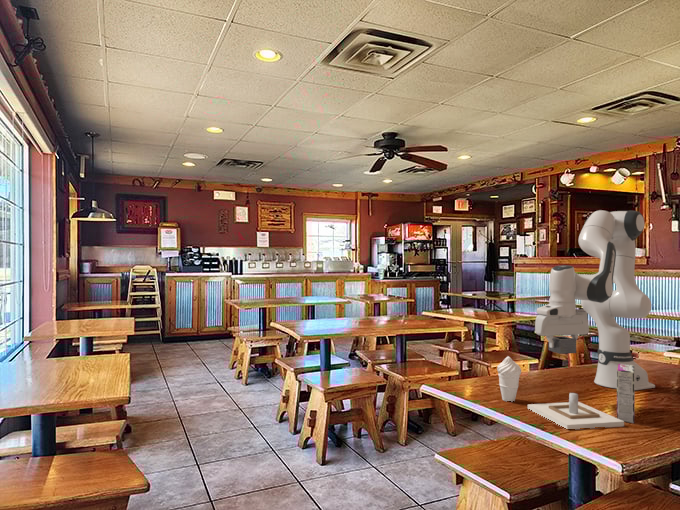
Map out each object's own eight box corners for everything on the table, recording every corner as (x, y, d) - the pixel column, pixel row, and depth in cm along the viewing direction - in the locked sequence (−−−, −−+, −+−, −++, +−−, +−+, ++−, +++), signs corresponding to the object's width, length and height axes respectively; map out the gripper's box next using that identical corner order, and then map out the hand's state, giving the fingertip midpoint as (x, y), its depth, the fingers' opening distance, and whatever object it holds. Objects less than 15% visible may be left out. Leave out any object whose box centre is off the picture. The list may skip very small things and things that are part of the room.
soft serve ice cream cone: (503, 395, 176) (503, 352, 176) (525, 400, 170) (525, 356, 170) (492, 399, 170) (493, 355, 170) (514, 405, 164) (515, 359, 164)
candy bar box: (617, 411, 159) (617, 363, 159) (634, 414, 157) (634, 365, 157) (615, 420, 150) (616, 369, 150) (634, 424, 147) (635, 371, 147)
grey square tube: (564, 349, 176) (564, 336, 176) (576, 353, 170) (576, 339, 170) (548, 350, 175) (548, 336, 175) (560, 353, 168) (560, 339, 168)
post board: (578, 406, 165) (579, 384, 165) (624, 426, 145) (624, 401, 145) (527, 408, 160) (527, 386, 161) (567, 430, 141) (567, 404, 141)
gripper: (580, 307, 178) (580, 344, 178) (532, 309, 173) (532, 346, 173) (593, 309, 171) (592, 347, 171) (543, 311, 167) (543, 349, 167)
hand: (562, 347), depth 172 cm, fingers closed on grey square tube, 7 cm apart
